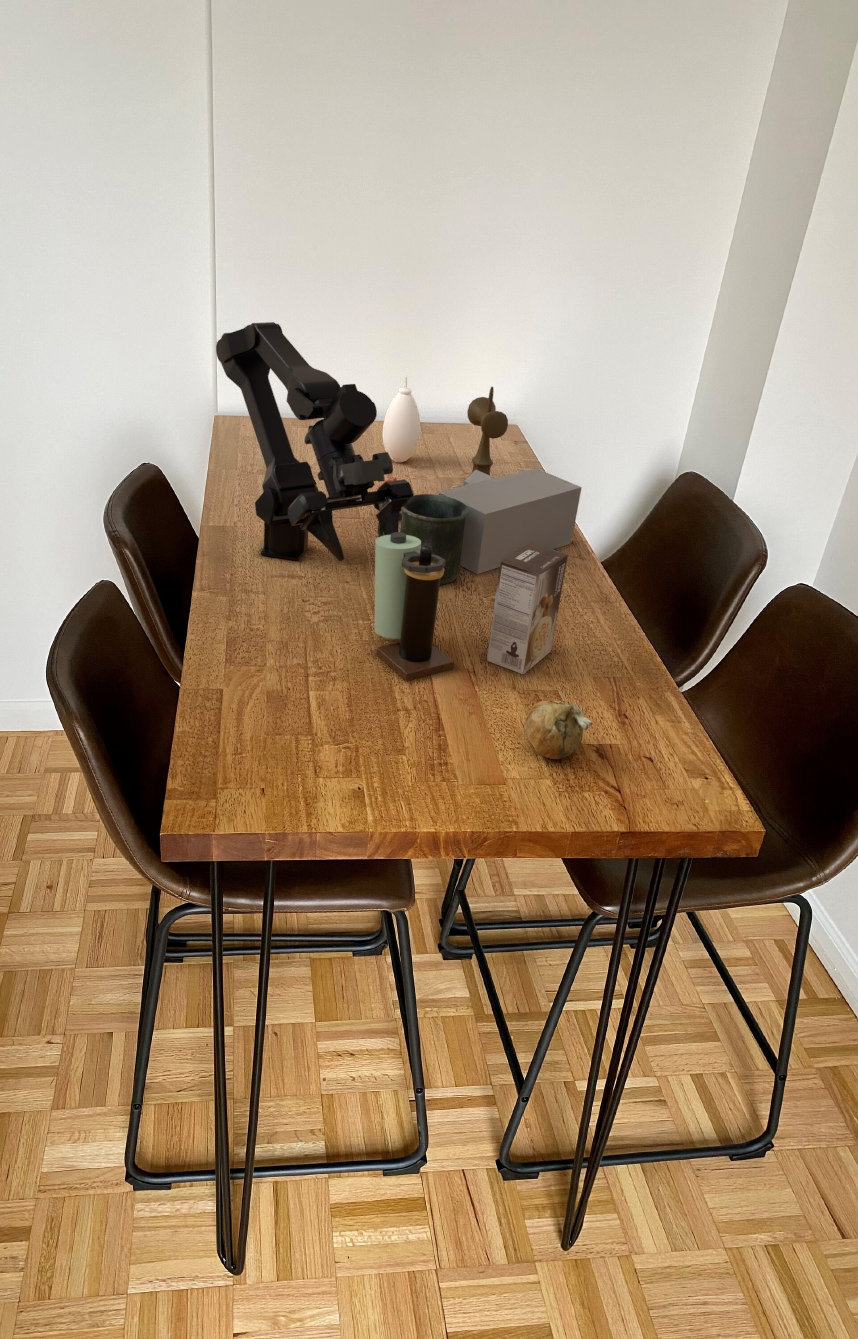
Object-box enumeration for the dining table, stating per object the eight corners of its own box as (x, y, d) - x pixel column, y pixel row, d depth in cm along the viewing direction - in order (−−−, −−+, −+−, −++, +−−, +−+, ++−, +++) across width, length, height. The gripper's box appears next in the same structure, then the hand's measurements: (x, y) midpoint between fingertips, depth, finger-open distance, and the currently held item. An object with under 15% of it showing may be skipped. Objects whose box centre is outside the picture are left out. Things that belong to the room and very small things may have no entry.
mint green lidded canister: (366, 626, 153) (367, 531, 147) (404, 618, 156) (406, 525, 150) (411, 659, 143) (413, 558, 137) (450, 650, 146) (455, 551, 140)
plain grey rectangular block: (480, 501, 207) (487, 447, 201) (571, 543, 193) (581, 487, 187) (385, 526, 191) (390, 469, 185) (477, 574, 177) (485, 514, 171)
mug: (460, 591, 171) (469, 522, 165) (371, 582, 170) (377, 513, 164) (461, 563, 180) (469, 497, 174) (376, 554, 180) (381, 488, 174)
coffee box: (514, 638, 159) (529, 540, 151) (551, 652, 156) (570, 553, 148) (484, 661, 152) (499, 560, 144) (523, 676, 149) (541, 574, 141)
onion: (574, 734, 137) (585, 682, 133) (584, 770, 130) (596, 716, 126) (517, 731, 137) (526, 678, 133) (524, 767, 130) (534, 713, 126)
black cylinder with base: (375, 654, 150) (385, 538, 141) (422, 643, 154) (434, 529, 145) (405, 681, 145) (418, 561, 136) (453, 668, 149) (468, 552, 140)
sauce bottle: (416, 469, 219) (425, 383, 210) (379, 465, 218) (386, 379, 209) (417, 456, 225) (425, 372, 216) (381, 453, 225) (387, 369, 216)
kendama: (486, 474, 220) (498, 379, 210) (500, 491, 212) (514, 393, 202) (458, 474, 218) (470, 379, 208) (472, 492, 210) (485, 393, 200)
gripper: (300, 439, 144) (335, 544, 142) (413, 427, 154) (447, 525, 152) (272, 474, 153) (305, 573, 151) (381, 460, 163) (412, 553, 161)
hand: (369, 555), depth 154 cm, fingers open, 9 cm apart
